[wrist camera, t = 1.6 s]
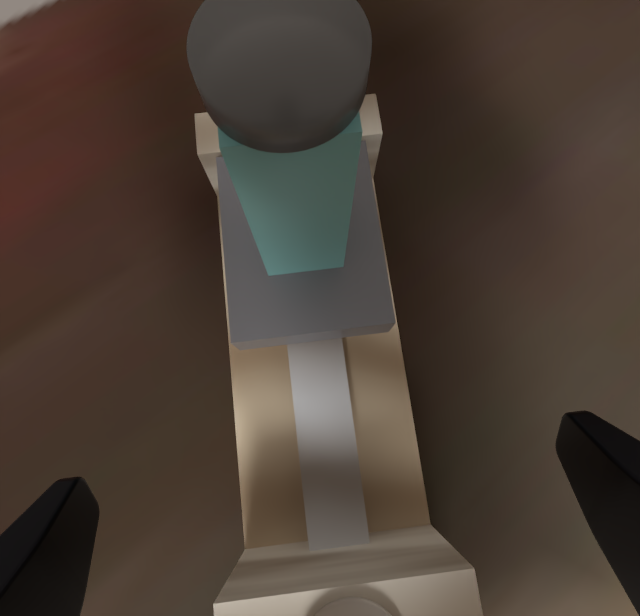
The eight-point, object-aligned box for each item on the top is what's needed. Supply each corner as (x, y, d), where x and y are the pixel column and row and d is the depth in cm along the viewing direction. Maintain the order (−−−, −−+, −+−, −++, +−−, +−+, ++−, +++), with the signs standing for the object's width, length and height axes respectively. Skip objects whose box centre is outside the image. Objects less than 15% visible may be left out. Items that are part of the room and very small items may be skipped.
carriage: (388, 332, 20) (483, 211, 8) (239, 350, 19) (118, 254, 8) (361, 165, 21) (407, -129, 10) (225, 180, 21) (110, -99, 10)
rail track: (440, 611, 20) (506, 722, 13) (257, 636, 20) (219, 763, 13) (364, 152, 25) (381, 47, 18) (219, 169, 25) (176, 69, 18)
